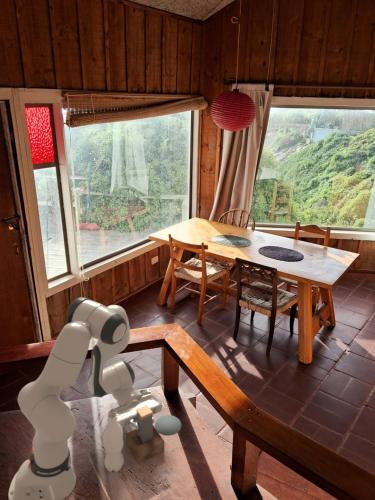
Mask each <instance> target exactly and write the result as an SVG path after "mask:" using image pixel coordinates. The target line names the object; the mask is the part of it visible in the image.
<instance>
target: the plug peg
mask: <svg viewBox="0 0 375 500" xmlns="http://www.w3.org/2000/svg"><path fill="white" fill-rule="evenodd" d="M136 412H137V422H136V423H139V424H140V429H138V430H137V436H138V439H139V441H140V442H141V444H144V443H146V442H149V441H151V440H153V426H154V423H153V418H154V415H153V412H152V411H151V409H150V408H149V407H148V405H145V406H142V407H140V408H138V409H136Z"/></svg>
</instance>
